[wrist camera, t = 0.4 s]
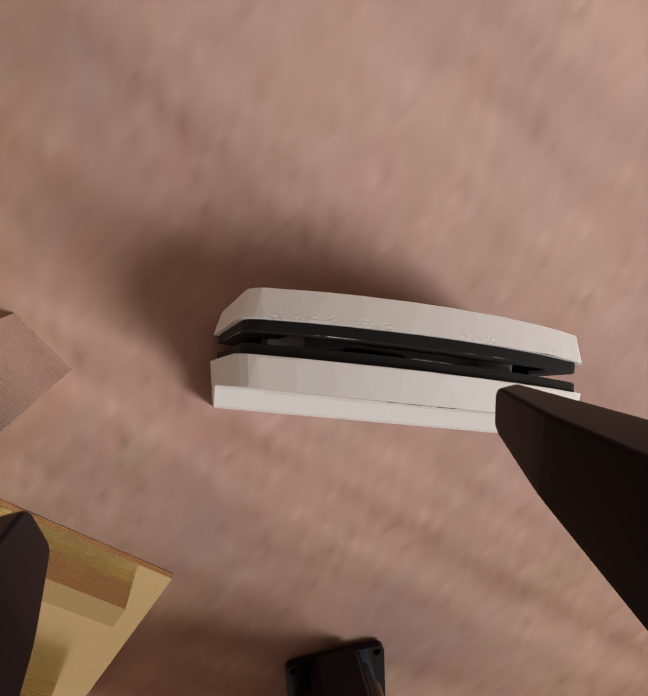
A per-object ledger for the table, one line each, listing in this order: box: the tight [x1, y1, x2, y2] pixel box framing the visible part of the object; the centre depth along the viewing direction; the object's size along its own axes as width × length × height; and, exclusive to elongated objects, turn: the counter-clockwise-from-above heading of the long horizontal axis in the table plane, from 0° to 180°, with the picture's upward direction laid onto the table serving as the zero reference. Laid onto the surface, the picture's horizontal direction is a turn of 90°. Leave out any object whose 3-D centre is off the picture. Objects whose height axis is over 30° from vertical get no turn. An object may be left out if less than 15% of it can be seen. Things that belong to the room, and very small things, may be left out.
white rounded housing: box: [210, 287, 582, 433], centre depth 21 cm, size 17×5×10 cm, turn 80°
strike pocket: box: [0, 500, 173, 696], centre depth 23 cm, size 12×11×3 cm
